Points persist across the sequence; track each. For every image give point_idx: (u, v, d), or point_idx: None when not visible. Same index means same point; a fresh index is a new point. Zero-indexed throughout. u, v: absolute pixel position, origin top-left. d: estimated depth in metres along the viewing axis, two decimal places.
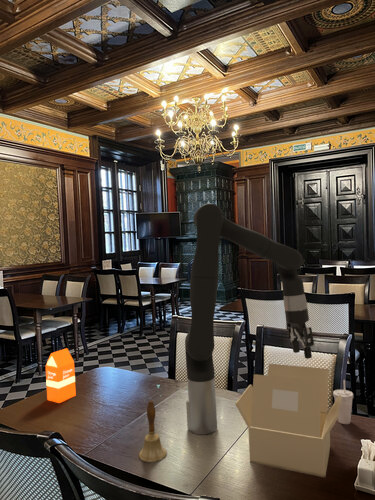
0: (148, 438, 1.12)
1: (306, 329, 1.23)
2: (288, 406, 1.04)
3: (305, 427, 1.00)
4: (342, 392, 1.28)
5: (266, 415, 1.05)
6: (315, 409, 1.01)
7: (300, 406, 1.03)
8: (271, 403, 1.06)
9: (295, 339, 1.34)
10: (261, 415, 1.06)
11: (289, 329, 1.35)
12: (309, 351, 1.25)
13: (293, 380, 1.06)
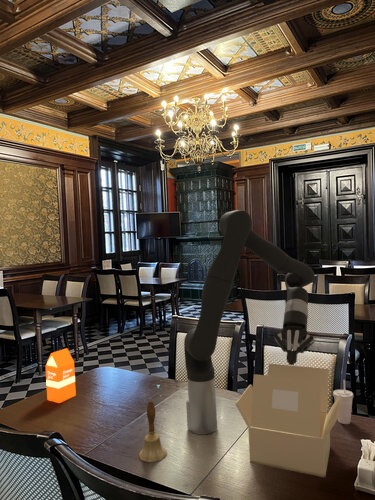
0: (148, 438, 1.12)
1: (313, 339, 1.18)
2: (288, 406, 1.04)
3: (305, 427, 1.00)
4: (342, 392, 1.28)
5: (266, 415, 1.05)
6: (315, 409, 1.01)
7: (300, 406, 1.03)
8: (271, 403, 1.06)
9: None
10: (261, 415, 1.06)
11: (280, 339, 1.22)
12: (296, 357, 1.17)
13: (293, 380, 1.06)
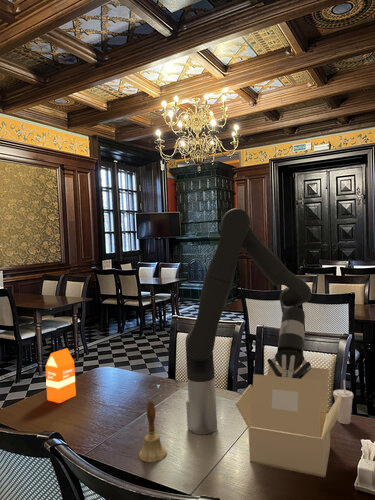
0: (148, 438, 1.12)
1: (310, 365, 1.09)
2: (288, 406, 1.04)
3: (305, 427, 1.00)
4: (342, 392, 1.28)
5: (266, 415, 1.05)
6: (315, 409, 1.01)
7: (300, 406, 1.03)
8: (271, 403, 1.06)
9: None
10: (261, 415, 1.06)
11: (274, 364, 1.12)
12: None
13: (293, 380, 1.06)
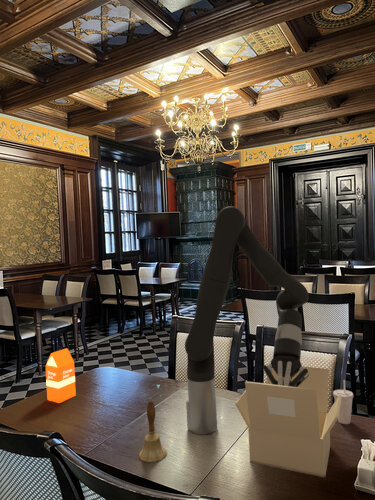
0: (148, 438, 1.12)
1: (307, 372, 1.03)
2: (285, 412, 1.00)
3: (304, 430, 0.99)
4: (342, 392, 1.28)
5: (264, 419, 1.03)
6: (313, 415, 0.97)
7: (298, 412, 0.99)
8: (268, 409, 1.02)
9: None
10: (259, 418, 1.04)
11: (270, 371, 1.07)
12: None
13: (287, 389, 0.98)
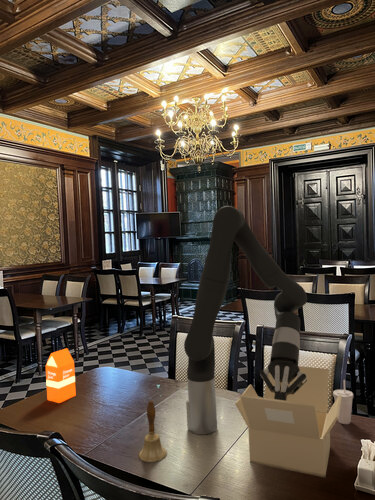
0: (148, 438, 1.12)
1: (305, 377, 0.99)
2: (284, 419, 0.98)
3: (304, 432, 0.99)
4: (342, 392, 1.28)
5: (263, 423, 1.02)
6: (312, 423, 0.95)
7: (296, 420, 0.97)
8: (266, 416, 1.00)
9: None
10: (258, 422, 1.03)
11: (266, 376, 1.03)
12: (285, 400, 0.98)
13: (284, 403, 0.94)
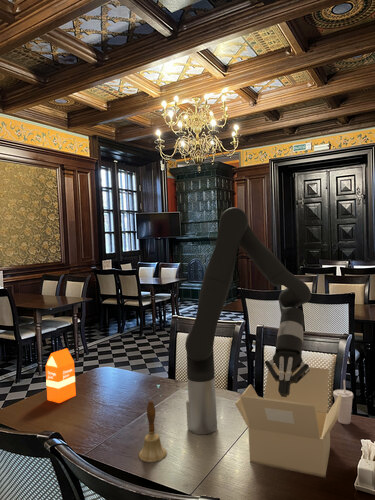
0: (148, 438, 1.12)
1: (308, 367, 1.06)
2: (284, 419, 0.98)
3: (304, 432, 0.99)
4: (342, 392, 1.28)
5: (263, 423, 1.02)
6: (312, 423, 0.95)
7: (296, 420, 0.97)
8: (266, 416, 1.00)
9: None
10: (258, 422, 1.03)
11: (271, 366, 1.10)
12: (289, 388, 1.05)
13: (284, 403, 0.94)
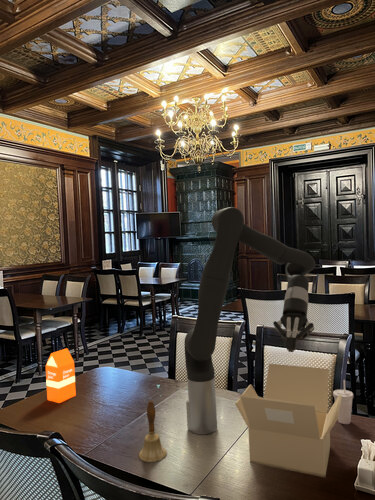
0: (148, 438, 1.12)
1: (313, 326, 1.17)
2: (284, 419, 0.98)
3: (304, 432, 0.99)
4: (342, 392, 1.28)
5: (263, 423, 1.02)
6: (312, 423, 0.95)
7: (296, 420, 0.97)
8: (266, 416, 1.00)
9: None
10: (258, 422, 1.03)
11: (279, 326, 1.21)
12: (296, 344, 1.16)
13: (284, 403, 0.94)
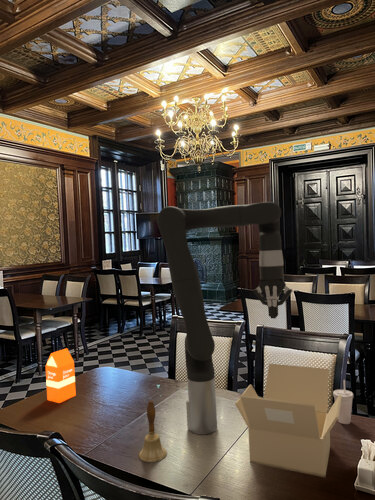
0: (148, 438, 1.12)
1: (291, 291, 1.20)
2: (284, 419, 0.98)
3: (304, 432, 0.99)
4: (342, 392, 1.28)
5: (263, 423, 1.02)
6: (312, 423, 0.95)
7: (296, 420, 0.97)
8: (266, 416, 1.00)
9: None
10: (258, 422, 1.03)
11: (259, 294, 1.24)
12: (277, 310, 1.23)
13: (284, 403, 0.94)
